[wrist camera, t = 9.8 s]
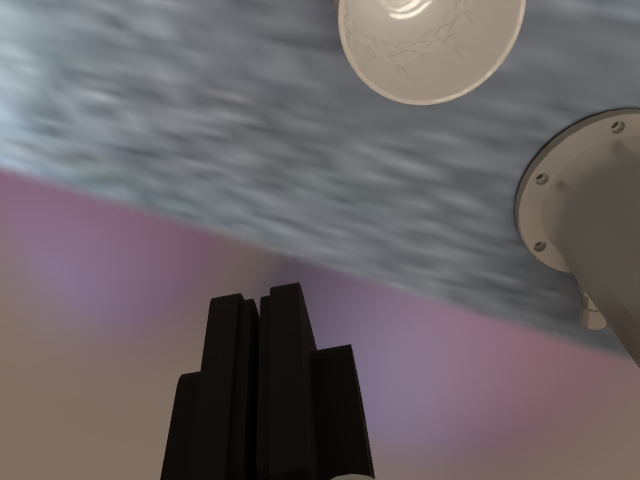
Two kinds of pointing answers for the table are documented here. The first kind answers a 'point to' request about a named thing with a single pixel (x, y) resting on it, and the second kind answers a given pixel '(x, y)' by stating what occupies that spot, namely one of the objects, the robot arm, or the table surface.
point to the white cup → (427, 44)
